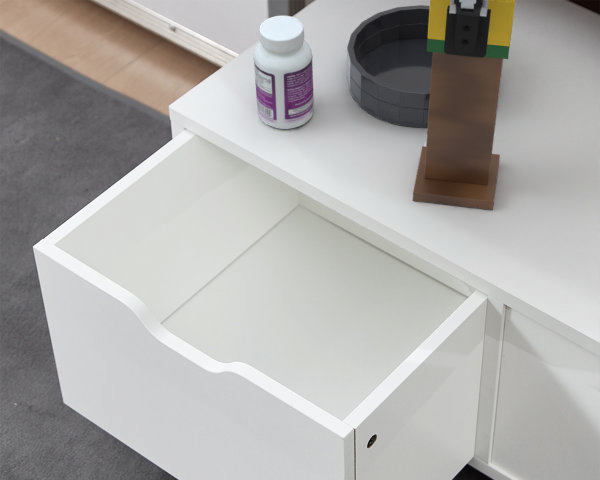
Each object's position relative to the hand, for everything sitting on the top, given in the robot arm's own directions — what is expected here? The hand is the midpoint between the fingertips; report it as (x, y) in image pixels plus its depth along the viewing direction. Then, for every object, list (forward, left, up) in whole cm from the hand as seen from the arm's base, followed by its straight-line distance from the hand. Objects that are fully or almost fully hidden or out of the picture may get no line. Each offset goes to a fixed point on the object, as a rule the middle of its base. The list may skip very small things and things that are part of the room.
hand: (471, 18), depth 97 cm
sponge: (0, 0, -2) cm, 2 cm away
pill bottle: (+17, -7, -17) cm, 25 cm away
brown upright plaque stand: (0, 0, -17) cm, 17 cm away
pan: (+5, -14, -17) cm, 23 cm away
